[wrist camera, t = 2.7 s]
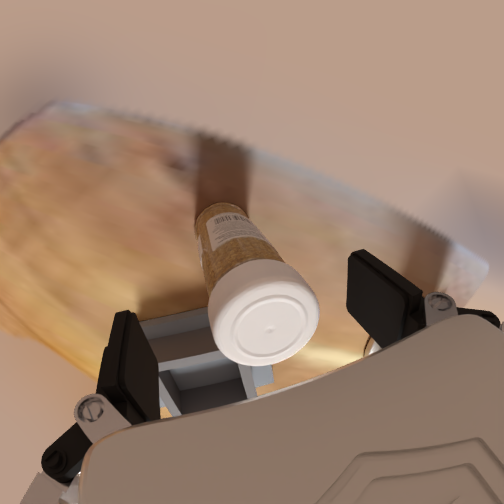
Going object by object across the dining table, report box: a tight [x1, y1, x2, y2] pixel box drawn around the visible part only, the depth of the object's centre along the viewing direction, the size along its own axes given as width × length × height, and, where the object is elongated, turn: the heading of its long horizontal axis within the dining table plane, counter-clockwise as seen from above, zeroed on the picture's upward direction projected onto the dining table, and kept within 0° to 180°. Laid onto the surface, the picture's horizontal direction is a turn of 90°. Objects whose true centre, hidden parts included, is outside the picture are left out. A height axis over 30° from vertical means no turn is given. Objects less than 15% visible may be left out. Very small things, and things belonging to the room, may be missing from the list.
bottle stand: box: [139, 307, 274, 417], centre depth 25 cm, size 14×12×4 cm
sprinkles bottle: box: [195, 202, 320, 366], centre depth 17 cm, size 5×5×14 cm
